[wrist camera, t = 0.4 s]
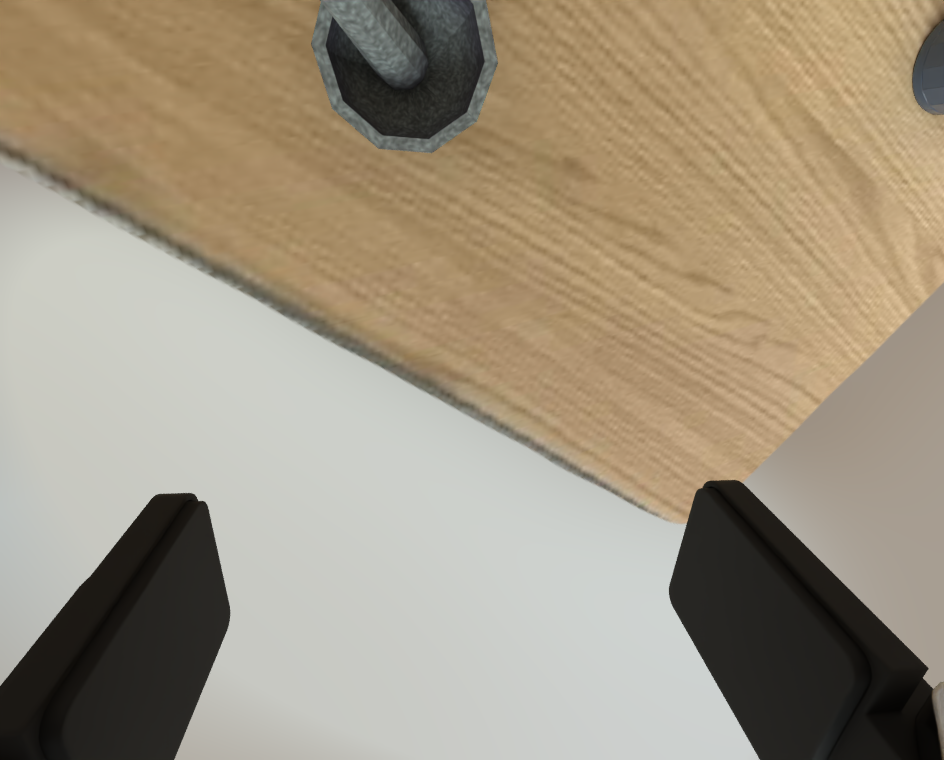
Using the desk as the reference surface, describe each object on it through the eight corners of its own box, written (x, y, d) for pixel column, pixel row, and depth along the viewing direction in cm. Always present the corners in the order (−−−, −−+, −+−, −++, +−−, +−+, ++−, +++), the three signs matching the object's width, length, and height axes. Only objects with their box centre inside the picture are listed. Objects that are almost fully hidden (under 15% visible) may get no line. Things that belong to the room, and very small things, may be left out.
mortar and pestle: (510, 68, 33) (556, 22, 22) (424, 184, 35) (427, 195, 24) (371, -78, 29) (341, -222, 18) (285, 63, 31) (214, 11, 20)
